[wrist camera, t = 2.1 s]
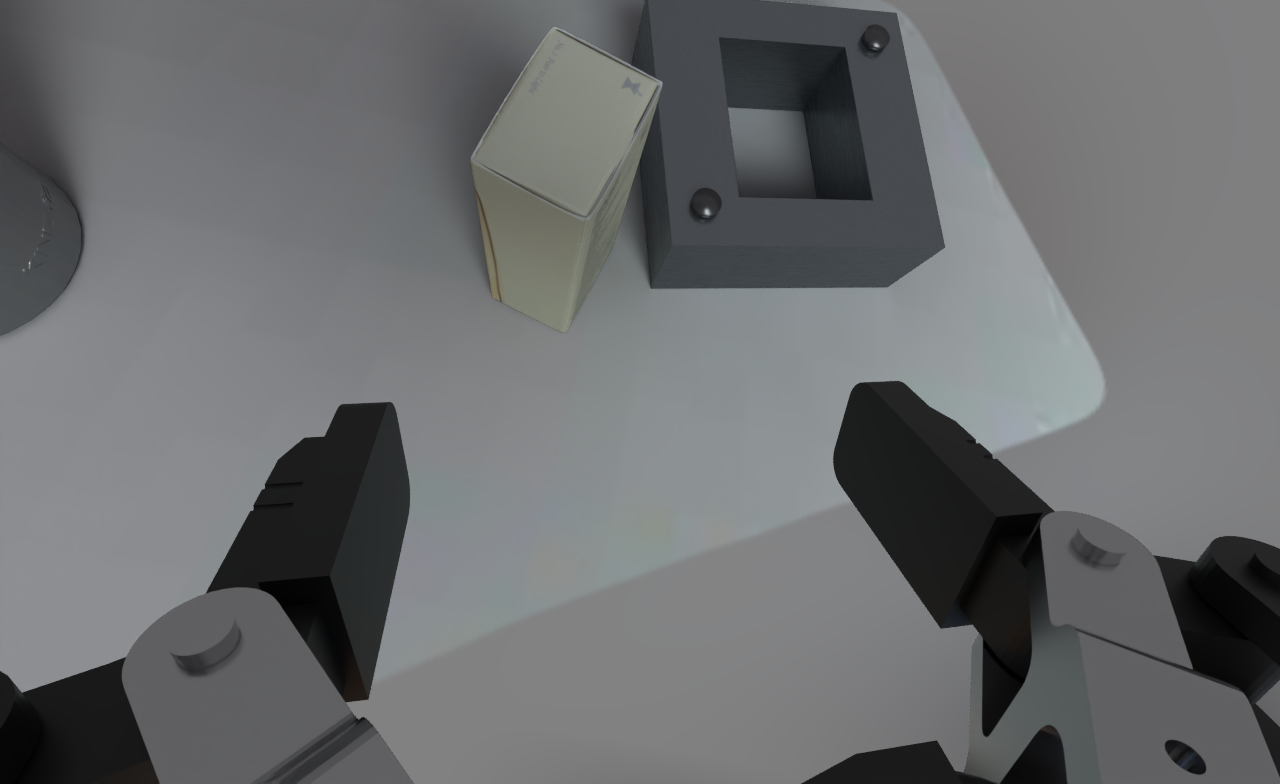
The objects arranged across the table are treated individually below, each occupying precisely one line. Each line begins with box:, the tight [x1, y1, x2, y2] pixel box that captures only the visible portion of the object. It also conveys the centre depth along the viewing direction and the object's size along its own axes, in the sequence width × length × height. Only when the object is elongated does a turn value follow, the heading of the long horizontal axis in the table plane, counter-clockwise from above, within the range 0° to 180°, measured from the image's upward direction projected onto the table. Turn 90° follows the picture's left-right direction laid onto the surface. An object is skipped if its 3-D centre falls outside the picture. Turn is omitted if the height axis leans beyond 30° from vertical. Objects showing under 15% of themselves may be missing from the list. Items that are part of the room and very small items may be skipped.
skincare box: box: [470, 27, 663, 332], centre depth 25 cm, size 6×4×12 cm
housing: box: [631, 0, 945, 288], centre depth 32 cm, size 14×14×5 cm
